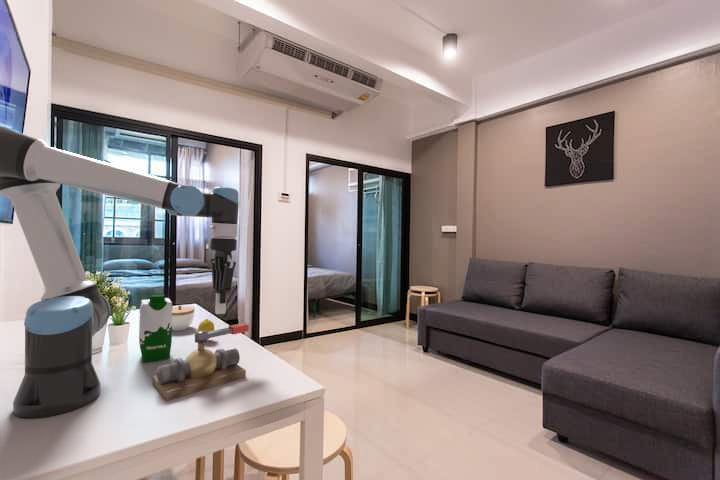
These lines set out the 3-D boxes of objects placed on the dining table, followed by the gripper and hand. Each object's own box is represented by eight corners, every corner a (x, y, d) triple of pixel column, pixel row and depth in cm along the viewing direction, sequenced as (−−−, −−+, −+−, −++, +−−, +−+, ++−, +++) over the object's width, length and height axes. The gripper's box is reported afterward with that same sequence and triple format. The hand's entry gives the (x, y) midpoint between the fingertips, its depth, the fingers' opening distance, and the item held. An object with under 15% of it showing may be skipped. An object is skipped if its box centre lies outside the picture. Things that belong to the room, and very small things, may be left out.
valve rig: (166, 400, 81) (167, 357, 80) (152, 383, 89) (152, 344, 89) (245, 376, 95) (246, 339, 95) (226, 364, 103) (227, 330, 103)
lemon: (196, 343, 121) (196, 321, 121) (199, 338, 126) (199, 317, 126) (212, 342, 122) (213, 320, 122) (215, 337, 128) (215, 316, 128)
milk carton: (139, 364, 101) (141, 298, 101) (138, 355, 108) (139, 292, 108) (173, 358, 106) (174, 295, 106) (169, 350, 114) (170, 290, 113)
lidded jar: (167, 325, 142) (168, 303, 142) (195, 324, 145) (196, 302, 145) (161, 333, 132) (161, 309, 131) (191, 331, 135) (192, 308, 135)
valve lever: (198, 343, 90) (198, 334, 90) (192, 340, 92) (192, 332, 92) (249, 332, 101) (249, 324, 101) (243, 329, 103) (243, 321, 103)
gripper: (203, 236, 107) (199, 310, 107) (221, 238, 98) (216, 319, 98) (226, 237, 113) (223, 308, 113) (245, 239, 103) (241, 316, 104)
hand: (220, 313), depth 106 cm, fingers closed
